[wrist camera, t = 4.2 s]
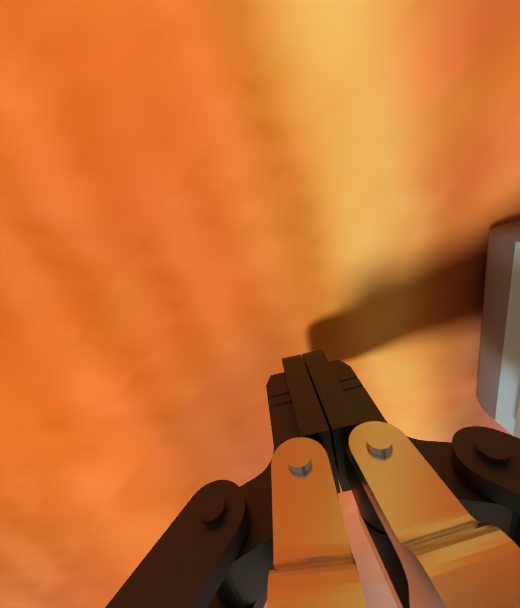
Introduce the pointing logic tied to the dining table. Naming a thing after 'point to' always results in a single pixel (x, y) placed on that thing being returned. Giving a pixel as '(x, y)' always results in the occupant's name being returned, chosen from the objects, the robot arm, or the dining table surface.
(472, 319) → the dining table surface
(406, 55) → the dining table surface
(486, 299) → the pale blue lipped slab
